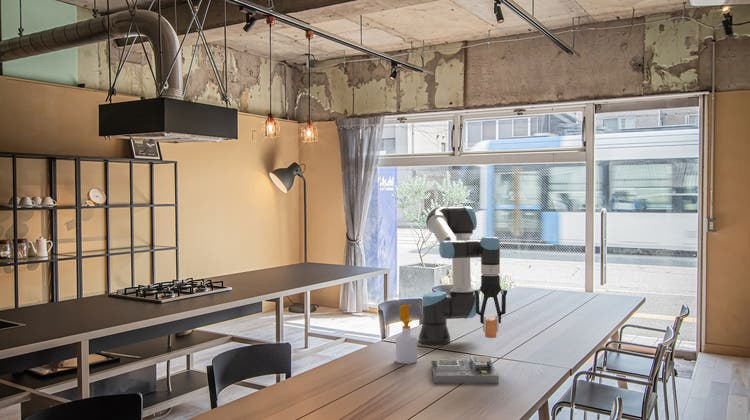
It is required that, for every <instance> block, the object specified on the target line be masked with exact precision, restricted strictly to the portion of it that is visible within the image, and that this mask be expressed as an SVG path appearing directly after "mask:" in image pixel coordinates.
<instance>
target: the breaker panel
mask: <svg viewBox="0 0 750 420" xmlns="http://www.w3.org/2000/svg"><path fill="white" fill-rule="evenodd" d="M473 358H474V357H473V355H469V360H459V359H436V360H431V363H430V364H431V373H432V377H433V382H434V384H441V385H442V384H451V385H452V384H453V385H454V384H459V385H460V384H462V385H463V384H466V385H467V384H469V385H470V384H471V385H472V384H473V385H474V384H475V383H476V384H477V383H478V384H479V383H480V384H482V385H484V384H485V383H492V384H493V383H497V384H498V385H499V384H500V383H499V380H500V379H499V377H500V376H499V374H498V372H497V370H496V368H495V367H494V365H493V364H494V363H493V361H492V359H491V357H490V356H489V362H487V363H475V361H474V359H473ZM497 384H496V385H497ZM493 385H494V384H493Z"/></svg>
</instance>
